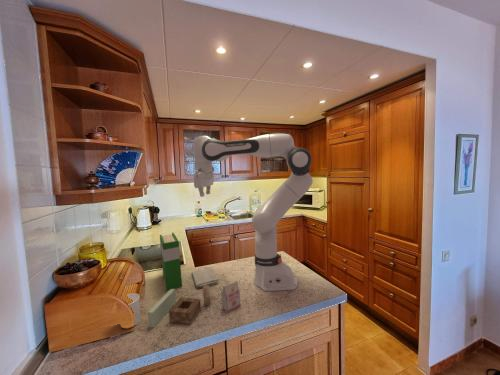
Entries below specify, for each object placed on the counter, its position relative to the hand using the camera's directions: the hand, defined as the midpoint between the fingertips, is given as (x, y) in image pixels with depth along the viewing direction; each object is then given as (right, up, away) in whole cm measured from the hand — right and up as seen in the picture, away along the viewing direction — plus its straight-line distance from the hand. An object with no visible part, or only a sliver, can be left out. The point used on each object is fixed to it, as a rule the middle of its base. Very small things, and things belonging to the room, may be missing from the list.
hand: (205, 195), depth 112 cm
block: (-3, -48, -24) cm, 54 cm away
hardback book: (-19, -47, +5) cm, 51 cm away
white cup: (-24, -50, -27) cm, 61 cm away
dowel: (+4, -47, -17) cm, 50 cm away
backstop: (-13, -48, -22) cm, 55 cm away
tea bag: (+15, -47, -19) cm, 53 cm away
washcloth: (-1, -46, +5) cm, 47 cm away
